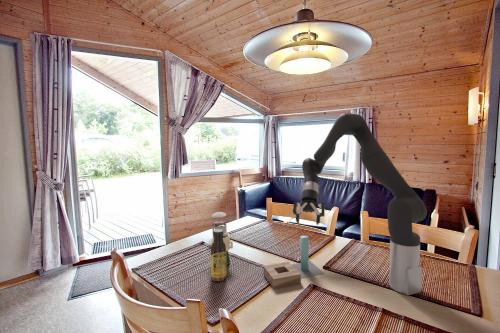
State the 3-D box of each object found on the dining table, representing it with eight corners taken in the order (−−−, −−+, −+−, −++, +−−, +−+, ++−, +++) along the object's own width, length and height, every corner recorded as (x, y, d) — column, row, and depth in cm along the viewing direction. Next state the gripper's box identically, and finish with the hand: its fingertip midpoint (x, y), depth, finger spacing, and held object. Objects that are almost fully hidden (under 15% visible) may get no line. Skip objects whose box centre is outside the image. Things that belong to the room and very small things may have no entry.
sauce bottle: (213, 284, 105) (211, 234, 103) (209, 276, 111) (206, 229, 109) (229, 280, 108) (227, 231, 106) (224, 273, 113) (222, 226, 111)
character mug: (208, 265, 121) (206, 236, 120) (217, 258, 127) (216, 231, 126) (229, 269, 116) (228, 240, 115) (237, 262, 123) (236, 234, 121)
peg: (310, 270, 113) (309, 237, 111) (303, 271, 112) (302, 239, 110) (306, 267, 116) (305, 235, 114) (299, 268, 115) (299, 236, 113)
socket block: (300, 283, 103) (300, 273, 103) (274, 289, 100) (273, 279, 100) (288, 270, 114) (288, 261, 113) (263, 275, 111) (263, 265, 110)
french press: (221, 243, 145) (219, 197, 143) (205, 239, 152) (202, 195, 149) (232, 237, 153) (230, 194, 151) (216, 234, 160) (214, 192, 157)
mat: (325, 274, 110) (325, 273, 110) (298, 279, 106) (298, 279, 106) (310, 261, 121) (310, 261, 121) (285, 266, 118) (285, 265, 118)
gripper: (294, 188, 131) (290, 218, 122) (325, 189, 127) (323, 220, 117) (296, 196, 137) (292, 225, 127) (325, 197, 132) (324, 228, 123)
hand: (307, 223), depth 122 cm, fingers open, 8 cm apart
